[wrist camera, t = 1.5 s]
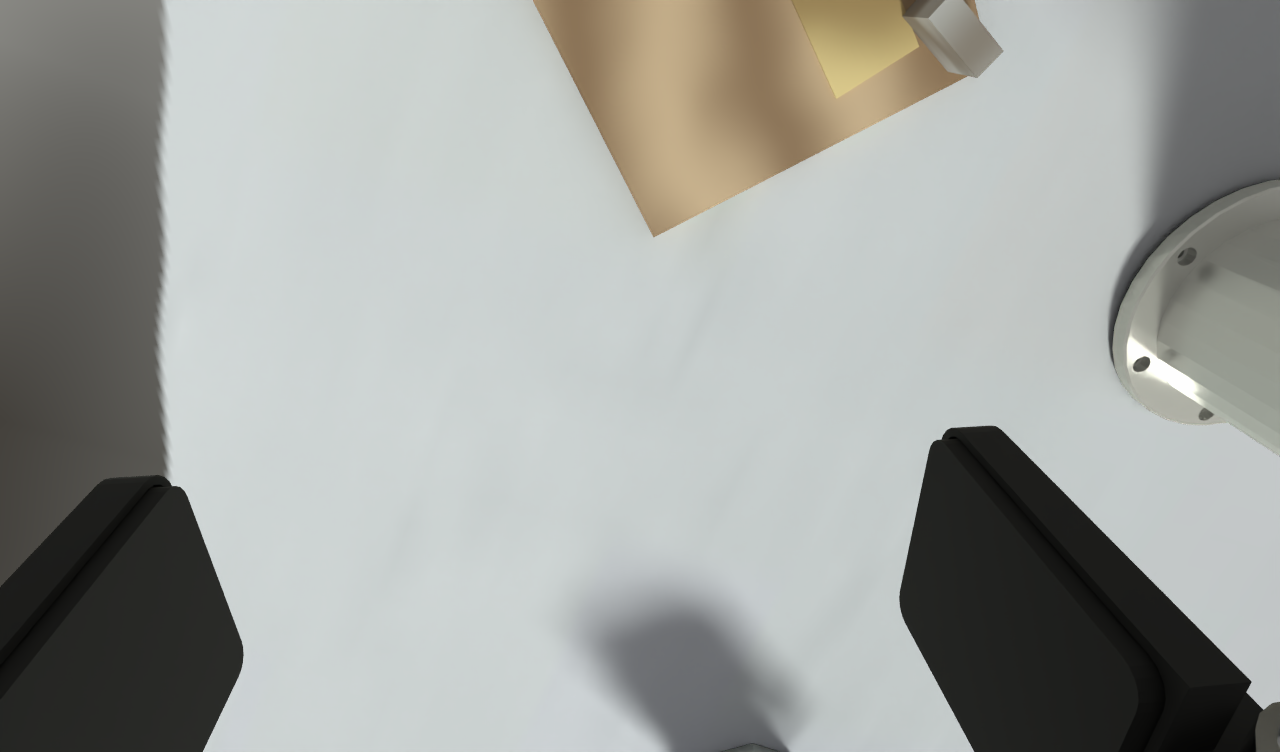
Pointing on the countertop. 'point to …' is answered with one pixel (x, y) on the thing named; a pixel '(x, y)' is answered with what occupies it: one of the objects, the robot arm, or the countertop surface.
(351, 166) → the countertop surface
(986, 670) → the robot arm
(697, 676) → the countertop surface
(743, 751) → the coffee maker
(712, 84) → the plate
